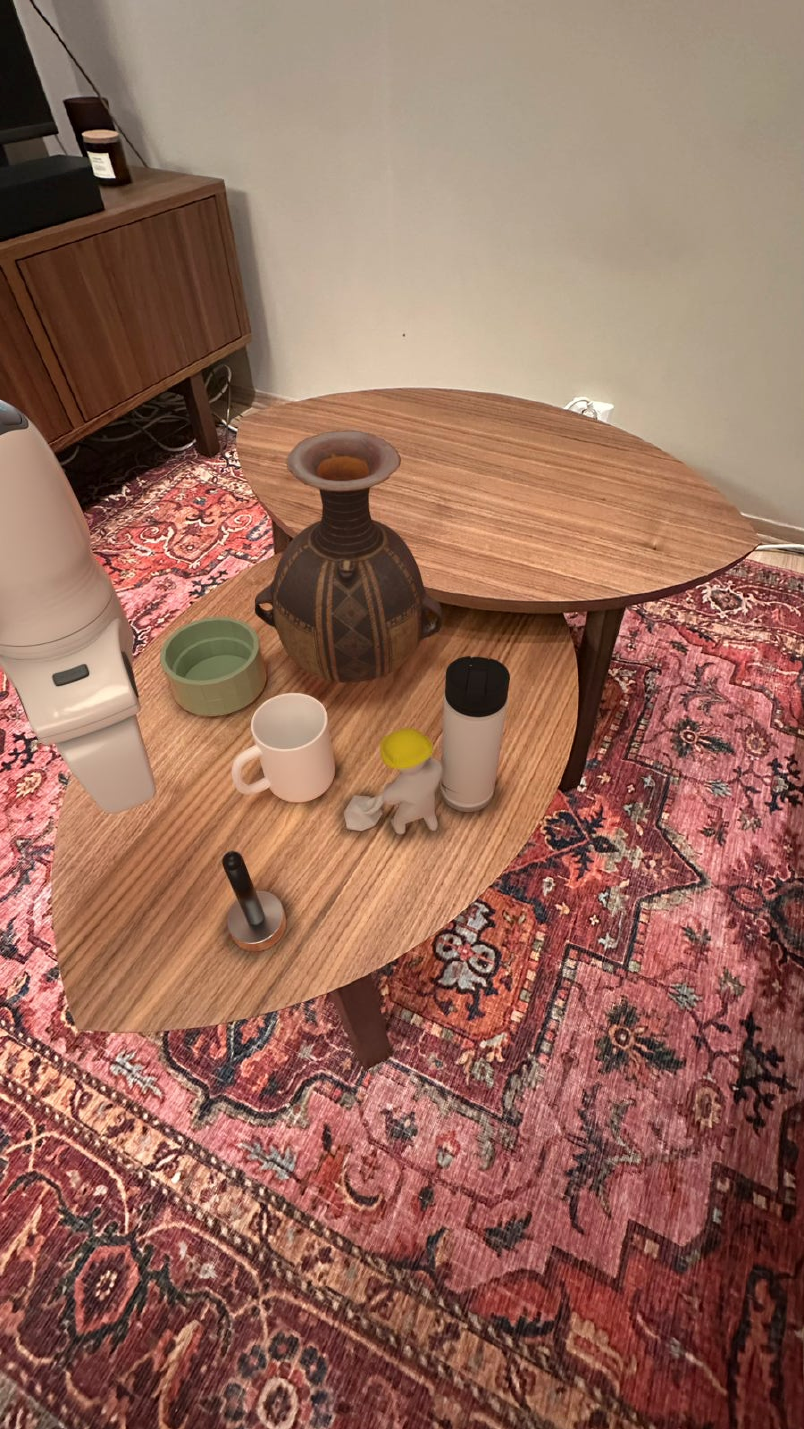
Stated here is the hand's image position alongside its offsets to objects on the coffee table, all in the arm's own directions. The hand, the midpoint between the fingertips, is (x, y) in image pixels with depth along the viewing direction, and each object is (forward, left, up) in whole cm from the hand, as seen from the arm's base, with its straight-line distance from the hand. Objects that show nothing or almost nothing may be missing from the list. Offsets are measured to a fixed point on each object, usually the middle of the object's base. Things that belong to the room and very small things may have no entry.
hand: (125, 754), depth 58 cm
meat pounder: (+5, -9, -20) cm, 23 cm away
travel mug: (+32, -5, -21) cm, 38 cm away
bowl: (+12, +25, -20) cm, 35 cm away
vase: (+30, +21, -21) cm, 42 cm away
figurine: (+23, -4, -21) cm, 31 cm away
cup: (+14, +6, -21) cm, 26 cm away
